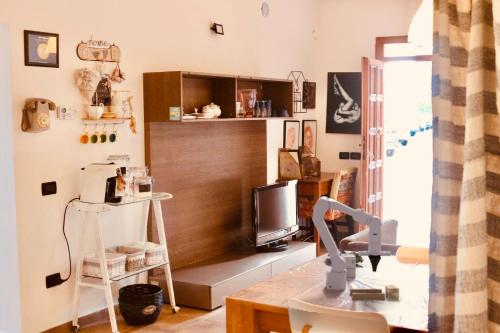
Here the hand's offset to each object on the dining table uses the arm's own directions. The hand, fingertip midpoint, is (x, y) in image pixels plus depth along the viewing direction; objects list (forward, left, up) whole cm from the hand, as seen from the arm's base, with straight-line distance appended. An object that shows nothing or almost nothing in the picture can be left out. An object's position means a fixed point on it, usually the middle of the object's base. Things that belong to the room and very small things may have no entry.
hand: (374, 271), depth 282 cm
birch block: (+6, -11, -9) cm, 15 cm away
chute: (-1, -11, -9) cm, 15 cm away
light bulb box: (-10, +27, -10) cm, 30 cm away
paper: (-6, +56, -10) cm, 57 cm away
